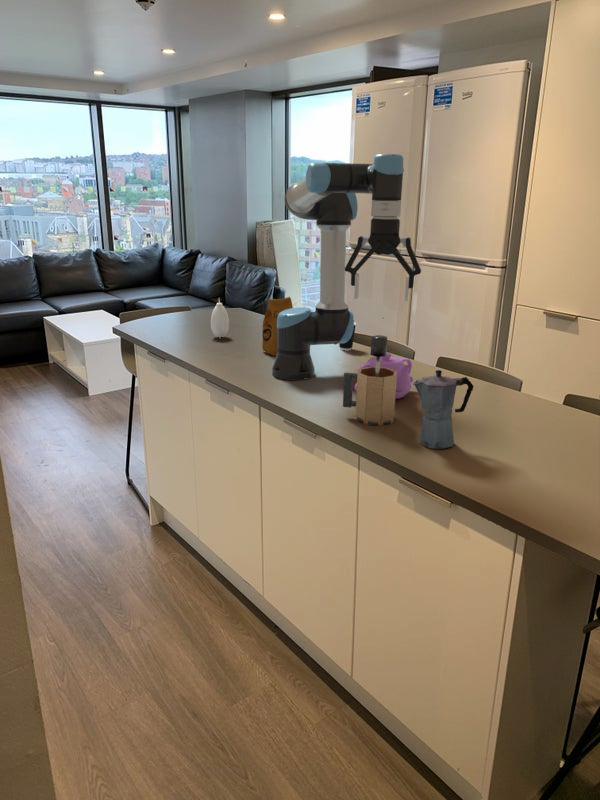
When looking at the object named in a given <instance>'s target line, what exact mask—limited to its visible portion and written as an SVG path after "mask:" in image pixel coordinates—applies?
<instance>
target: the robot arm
mask: <svg viewBox="0 0 600 800" xmlns="http://www.w3.org/2000/svg"><path fill="white" fill-rule="evenodd" d="M305 173H306V174H305V178H304V179H303V180H301V181H297V182H294V183H292V184H291V185H290V186H289V187H288V188H287V189H286V191H285V194H284V204H285V206H286V209H287V210H288V211H289V213H291V214H292V215H293V216H295V217H296V218H299V219H302V220H309V221H315V222H316V223H315V224H316V227H317V228H318V230H320V262H319V264H320V266H319V268H320V270H319V272H320V274H319V275H320V277H319V280H320V281H319V301H318V303H317V304H316V305H315V307H314V308H315V309H314V310H315V311H312V310H311V309H310V308H309V307H293V308H291V309H287V310H284V311H282V312H280V313H279V314H278V317H277V355H275V359H274V362H273V365H272V369H271V370H272V372H271V373H272V376H273V377H274V378H277V379H281V380H286V381H302V380H307V379H311V378H313V377H314V376H315V371H316V370H315V365H314V362H313V359H312V356H311V346H320V345H321V346H322V345H323V346H324V345H339V344H340V343H346V342H347V341H348V340H349V339H350V338H351V336H352V333H353V328H354V322H355V319H354V313H353V311H351V310H350V309H349V304H347V303H346V301H345V291H346V289H345V286H346V283H345V282H346V272H347V273H350V275H351V276H350V285H351V286H353V287H354V297H353V299H355V300H356V299H357V300H358V298H359V292H360V290H359V288H360V287H359V286H360V273H357V272H359V270H360V269H361V268H362V266H364V264H365V263H366V262H367V261H368V260H369V259H370V258H371V257H372V255H373V254H374V253H375V254H377V256H379V255H386V256H390V255H393V256H394V257H395V258H396V259H397V261H398V262H399V264H400V265H401V266H402V268H403V269H404V270H405V271H406V273H407V275H406V276H405V290H404V292H405V294H404V302H408V300H409V291H410V289H413V287H414V279H415V276H417V275H420V274H421V273H422V269H421V266H420V263H419V262H418V260H417V257H416V254H415V252H414V250H413V247H412V239H411V237H409V236H408V237H406V238H405V237H404V238H403V237H402V238H400V225H401V220H400V218H399V217H400V216H401V210H402V208H401V207H402V195H403V194H402V192H403V191H402V190H403V178H404V177H403V176H404V157H403V155H402V154H397V153H379V154H378V153H377V154H376V155H375V156H374V158H373V163H344V162H343V163H340V162H337V163H336V162H323V161H321V162H314V163H313V162H311V163H309V165H308V166H307V169H306V171H305ZM357 194H366V195H367V194H371V211H370V212H371V213H370V215H371V217H372V219H370V233H369V237H364V236H363V235H360V236H359V237H358V238H357V244H356V247H355V249H354V250H353V252H352V254H351V256H350V258H349V260H348V262H347V264H346V250H347V249H346V247H347V230H348V229H349V228H350V227H351V225H352V223H351V222H352V221H353V220H355V219H356V218H357V215H358V214H357V213H358V199H357ZM367 243H368V244H369V246H370V249H369V251H367V253H366V254H365V255H363V257H362V259H360V261H359V262H357V264H356V265H355V266H354V265H353V264H354V262H355V260H357V257H358V255H359V253H360V252H361V250H362V247H363V246H365V245H366V244H367ZM400 244H402V246H403V247H404V248H405V250H406V252H407V254H408V257H409V258H410V260H411V263H412V266H413V268H414V270H413V269H412V267H411V266H410V265H409V263H408V262H407V260H406V259H405V258H404V257H403V255H402V254H401V252H400V251H399V250H398V247H399V245H400ZM352 266H354V267H352Z"/></svg>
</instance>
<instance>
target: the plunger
mask: <svg viewBox="0 0 600 800" xmlns="http://www.w3.org/2000/svg"><path fill="white" fill-rule="evenodd" d="M387 347H388V336H385V335H381V334H378V335H377V334H376V335H372V336H371V339H370V356H372V357H375V356H376V368H375V377H379V373H380V357H382V356H386V352H387V350H388V349H387Z"/></svg>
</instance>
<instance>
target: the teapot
mask: <svg viewBox="0 0 600 800" xmlns="http://www.w3.org/2000/svg"><path fill="white" fill-rule="evenodd" d="M404 362H406V364H405V363H404ZM367 367H376V356H372V357H370V358H369V359H368V360H367V361H366V362H365V363H362V364H360V366H358V368H357V372H358V371H359V369H361V368H367ZM380 367H384V368H389V369H392V370H395V371H397V381H396V396H395V400H398V399H402V398H404V397H405V396H406V395H407V394H408V393H409V392H410V391H411V389H412V383H413V380H414V378H413V376H412V375H410V374H411V371H412V368H413V363H412V361H411V360H410V358H407V357H400V358H399V357H396V356H392V353H391V352H387V351H386V356H382V357H380ZM354 390H355V391H356V392H357V382H356V383H355V385H354Z"/></svg>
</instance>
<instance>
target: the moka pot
mask: <svg viewBox="0 0 600 800" xmlns="http://www.w3.org/2000/svg"><path fill="white" fill-rule="evenodd" d="M442 372H443V371H442V370H441V369H438V370H435V375H431V376H426V377H425V376H424V377H422V378H420V379H418V380H415V381H414V382H412V386H414V387H415V390H416V392H417V393H418V396H419V398H420V401H421V409H422V410H423V411H422V412H423V416H422V417H421V421H422V425H421V433H420V439H419V443H420V444H421V446H423V447H425V448H428V449H434V450H441V449H443V450H444V449H448V448H450V447H453V446H454V444H455V441H454V440H455V439H454V429H453V419H452V415H453V407H454V401H455V397H456V396H455V395H456V390H457V387H459V386H463V385H467V387H468V388H466V389H467V390H466V393H465V396H464V398H463V402H462V405H461V406H460V407H459V408H455V409H454V413H463V412H465V409H466V407H467V404H468V403H469V400H470V397H471V394H472V392H473V390H474V385H473V383H472V382H471V381H470V380H469V378H468V376H464V377H461V378H460V377H453V378H452V377H450V376H447V375H446V376H444V375H443V376H442Z"/></svg>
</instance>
